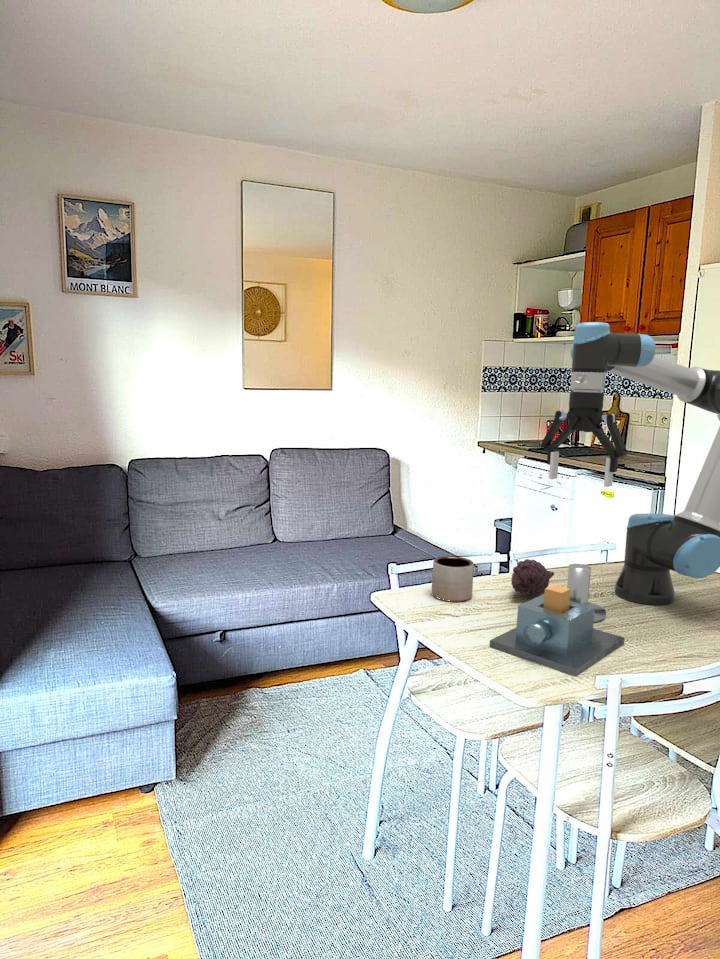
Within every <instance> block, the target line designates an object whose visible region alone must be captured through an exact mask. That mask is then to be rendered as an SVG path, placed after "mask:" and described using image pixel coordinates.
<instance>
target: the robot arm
mask: <svg viewBox="0 0 720 959" xmlns="http://www.w3.org/2000/svg"><path fill="white" fill-rule="evenodd" d="M570 348H571V349H570V356H571V360H572V361H571V376H570V387H569V389H571V390H572V391H570V393H569V399H568V400H569V402H568V411H564V410H556V411H555V414H554V418H553V422H552V423H551V425H550V427H549V429H548V430H547V432H546V434H545V435H544V437H543V439H542V441H541V443H540V447H541V449H544V450H546V451H547V458H546V460H547V461H546V462H547V463H546V464H547V465H548V466H549V474H548V479H549V480H555V479H558V473H559V458H560V451H558V448H559V447H560V446H561V445H562V444H564V442H565V441H566V440H567V439H568V438H569V437H570V436H571V435H572V433H574V432H584V433H592V434H593V435H595V437H596V438H597V440H598V441H599V443H600V444H601V446H602V447H603V448H604V450H605V451H606V453H607V456H608V457H606V458H605V459H606V460H605V470H604V479H603V481H604V482H603V487H605V488H608V487H612V486H613V480H614V473H617V471H618V468H619V467H618V464H619V459H620V458H622V457H624V456H627V455H628V452H629V451H628V450H627V447H626V445H625V442H624V440H623V437H622V434H621V433H620V432H621V431H620V429H619V426H618V423H617V415H616V414H615V413H608V414H603V410H604V409H603V408H604V398H605V394H604V393H603V392H602V391H605V389H606V386H605V385H606V375H607V374H606V373H610V374H613V375H617V376H619V377H623V378H624V379H627V380H630V381H632V382H633V381H634V382H636V383H640V384H643V385H646V386H648V387H651V388H654V389H657V390H659V391H663V392H667V393H668V394H672V395H675V396H676V397H677V399H678V400H679V401H681V402H682V403H683V402H684V403H686V404H688V405H691V406H694V407H697V408H699V409H702V410H705V411H707V412H710V413H713V414H717V415H716V416H717V418H718V421H719V422H720V370H713V369H705V368H702V367H698V366H691V367H687V366H684V365H681V364H678V363H676V362H672V361H671V360H668V359H665V358H662V357H658V356H656V342H655V340H654V338H653V337H651V335H649V334H641V333H638V332H637V333H628V332H627V333H624V332H623V333H620V332H619V333H617V332H611V330H610V324H609V323H607V322H598V321H597V322H594V321H593V322H591V321H590V322H588V321H587V322H585V321H584V322H580V323H577V324H576V325H575V328H574V334H573V342H572V346H571V347H570ZM566 419H567V420H568V422H569V423H568V424H566V426H565V427H564V429H563V430H562V431H561V432H560V434H558V432H559V430H560V429H561V427H562V424H563V422H564V421H565V420H566ZM602 422H604V423H605V424H606V427H607V429H608V433H609V434H610V436H611V437H610V438H611V439H612V441H611V440H610V438H609V436H608V435H607V434H606V432H605V430H604V428H603V427H602V425H601V424H602ZM557 434H558V435H557ZM556 435H557V437H556ZM623 563H624V564H623V567H622V570H621V572H620V573H619V576H618V578H617V580H616V582H615V585H614V593H615V595H617V597H619V598H621V599H624V600H627V601H630V602H634V603H637V604H644V605H653V606H654V605H655V606H662V605H670V604H671V603H674V601H675V594H676V593H675V588H674V584H673V581H672V576H671V571H673V572H675V573H677V574H679V575H682V576H685V577H690V578H693V579H704V578H707V577H708V576H711V575H713V574H714V573H715V572H717V570H718V569H719V568H720V426H719V427H718V430H717V431H716V435H715V436H714V439H713V442H712V444H711V446H710V449H709V451H708V453H707V455H706V457H705V460H704V462H703V465H702V468H701V469H700V472H699V474H698V477H697V479H696V482H695V484H694V486H693V489H692V491H691V493H690V496H689V498H688V501H687V503H686V506H685V507H684V510H683V511H682V512H678V513H677V514H675V515H672V514H668V513H667V514H666V513H634V514H631V515H630V516H629V518H628V522H627V526H626V538H625V550H624V560H623Z"/></svg>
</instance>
